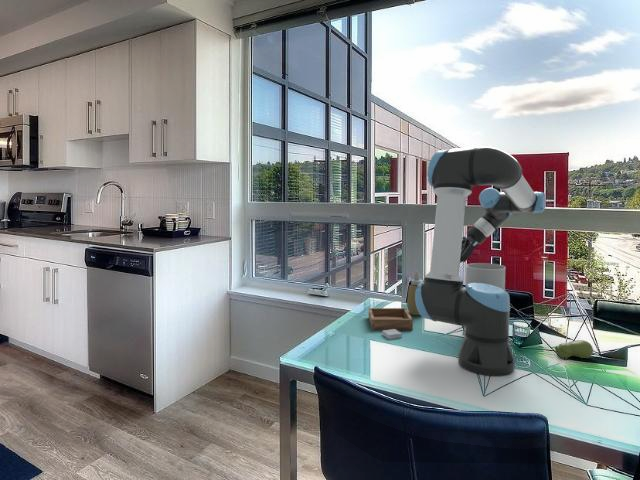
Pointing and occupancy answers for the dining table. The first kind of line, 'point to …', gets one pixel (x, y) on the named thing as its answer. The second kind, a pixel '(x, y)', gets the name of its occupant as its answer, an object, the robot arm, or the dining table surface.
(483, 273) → the cylinder vase
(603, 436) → the dining table surface
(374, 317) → the tray
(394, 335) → the grey flat block
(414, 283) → the squeeze bottle
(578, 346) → the pear
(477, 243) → the robot arm
